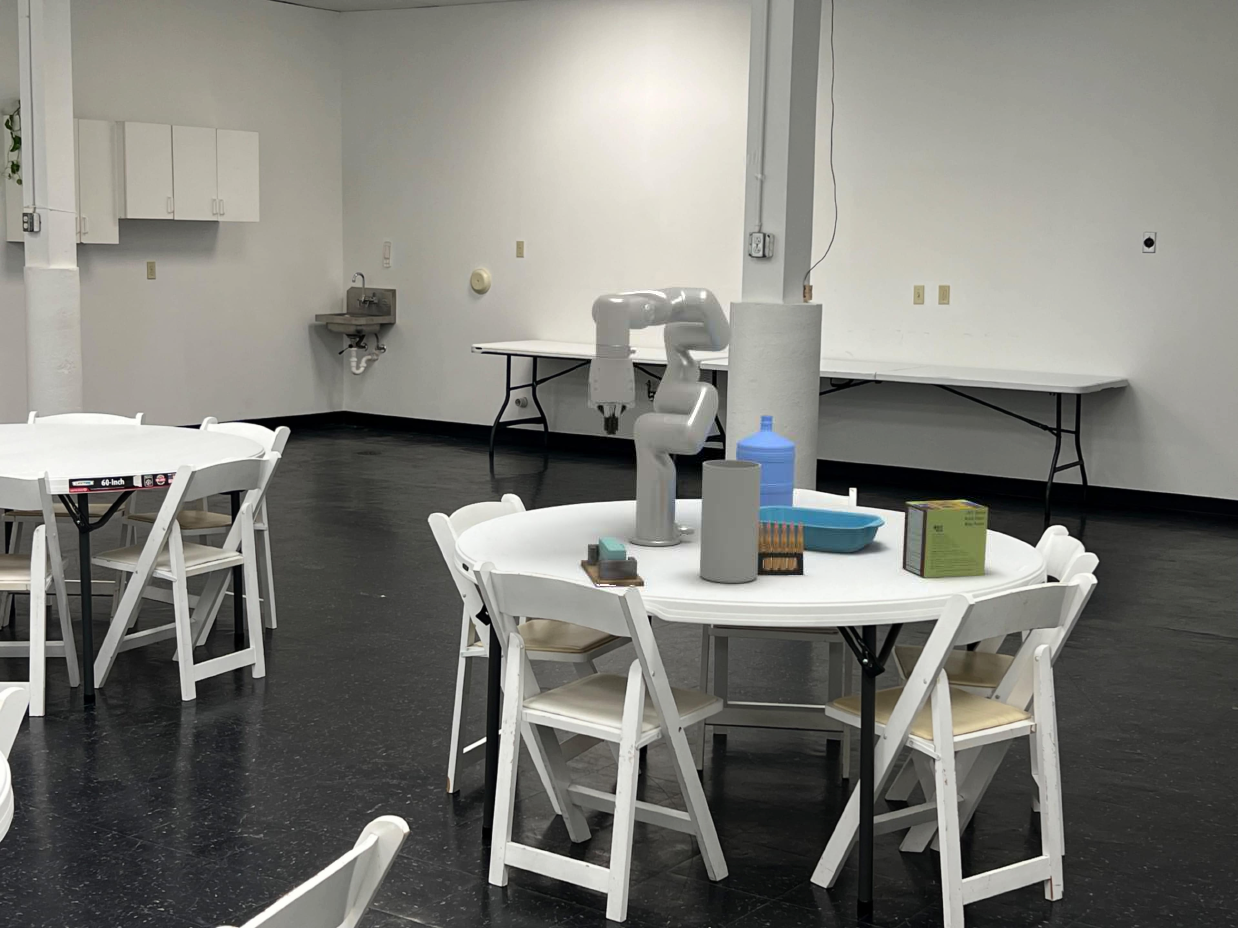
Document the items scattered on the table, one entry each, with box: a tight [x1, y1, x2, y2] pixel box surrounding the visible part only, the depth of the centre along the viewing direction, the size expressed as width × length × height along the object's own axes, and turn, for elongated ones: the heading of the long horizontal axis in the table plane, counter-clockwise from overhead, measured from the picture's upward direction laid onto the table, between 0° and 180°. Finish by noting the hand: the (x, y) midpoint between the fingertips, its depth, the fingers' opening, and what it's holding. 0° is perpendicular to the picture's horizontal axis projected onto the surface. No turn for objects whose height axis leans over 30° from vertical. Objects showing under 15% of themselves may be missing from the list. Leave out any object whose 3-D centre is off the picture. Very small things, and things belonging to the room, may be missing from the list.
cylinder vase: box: [699, 459, 761, 584], centre depth 303 cm, size 12×12×25 cm
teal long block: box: [598, 536, 627, 560], centre depth 304 cm, size 4×14×6 cm, turn 10°
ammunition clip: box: [757, 521, 805, 576], centre depth 308 cm, size 11×2×12 cm, turn 94°
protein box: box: [902, 499, 989, 579], centre depth 314 cm, size 10×15×16 cm
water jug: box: [735, 414, 796, 507], centre depth 372 cm, size 16×16×28 cm
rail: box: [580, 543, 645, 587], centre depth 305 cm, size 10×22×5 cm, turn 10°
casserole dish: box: [759, 506, 886, 554], centre depth 345 cm, size 37×22×7 cm, turn 62°
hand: (610, 433), depth 316 cm, fingers closed
